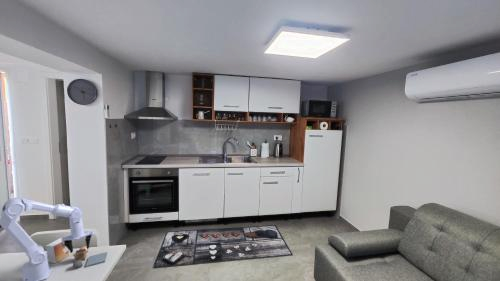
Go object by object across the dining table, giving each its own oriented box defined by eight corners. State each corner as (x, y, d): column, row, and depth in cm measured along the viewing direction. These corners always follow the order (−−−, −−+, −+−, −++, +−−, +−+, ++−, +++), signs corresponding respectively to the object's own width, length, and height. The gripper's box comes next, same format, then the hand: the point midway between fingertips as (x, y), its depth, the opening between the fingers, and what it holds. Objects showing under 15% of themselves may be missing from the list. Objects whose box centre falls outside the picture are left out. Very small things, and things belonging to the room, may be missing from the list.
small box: (55, 263, 126) (53, 246, 124) (47, 262, 127) (45, 245, 125) (69, 254, 133) (67, 238, 132) (62, 253, 134) (59, 237, 133)
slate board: (85, 267, 122) (85, 265, 122) (89, 257, 130) (89, 256, 130) (104, 262, 126) (104, 260, 126) (107, 253, 134) (107, 251, 134)
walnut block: (75, 262, 126) (74, 254, 125) (77, 258, 130) (76, 250, 129) (84, 260, 128) (83, 252, 127) (86, 256, 132) (85, 248, 131)
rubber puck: (72, 270, 120) (71, 265, 120) (74, 265, 124) (73, 260, 123) (81, 267, 122) (80, 263, 121) (83, 263, 125) (82, 258, 125)
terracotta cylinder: (79, 255, 133) (78, 250, 132) (80, 251, 136) (80, 247, 136) (87, 253, 134) (86, 248, 134) (88, 249, 138) (88, 245, 137)
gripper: (58, 234, 120) (62, 257, 121) (90, 228, 126) (93, 250, 128) (62, 228, 126) (66, 250, 128) (93, 222, 132) (96, 243, 134)
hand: (80, 249), depth 128 cm, fingers open, 7 cm apart
